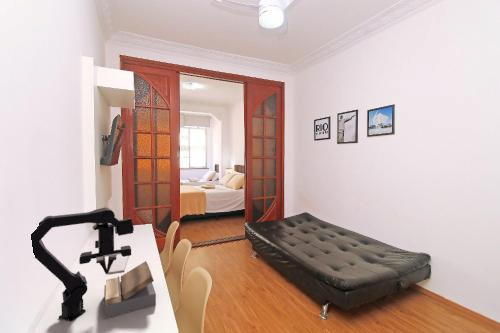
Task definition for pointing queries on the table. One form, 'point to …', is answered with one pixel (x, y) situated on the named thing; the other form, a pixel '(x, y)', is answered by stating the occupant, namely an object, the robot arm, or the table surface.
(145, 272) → the walnut plank
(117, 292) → the oak panel
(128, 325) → the table surface
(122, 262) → the baseboard
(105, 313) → the underlay block
